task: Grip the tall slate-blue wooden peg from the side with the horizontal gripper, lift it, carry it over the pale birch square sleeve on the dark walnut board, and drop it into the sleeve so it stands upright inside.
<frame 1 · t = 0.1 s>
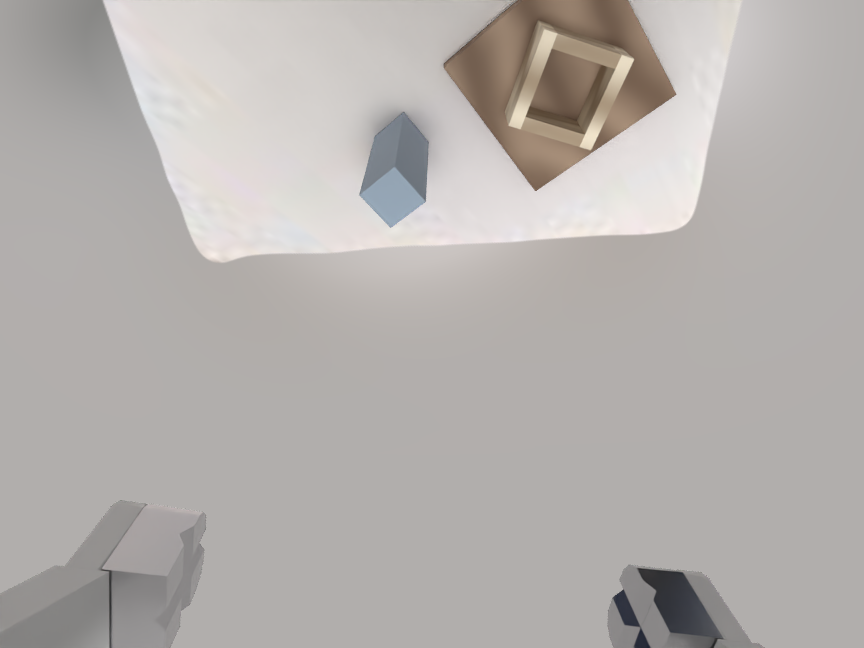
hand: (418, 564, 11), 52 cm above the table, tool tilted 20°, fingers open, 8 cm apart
socket board: (558, 77, 54), on the table
slate peg: (401, 139, 58), on the table
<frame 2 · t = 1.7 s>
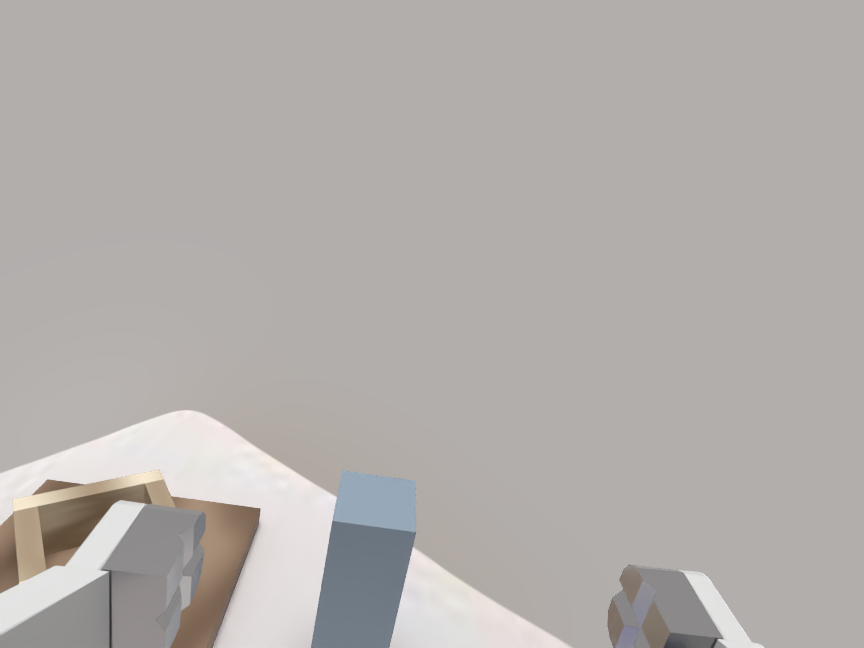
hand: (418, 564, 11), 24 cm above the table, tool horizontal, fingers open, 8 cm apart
socket board: (101, 591, 36), on the table
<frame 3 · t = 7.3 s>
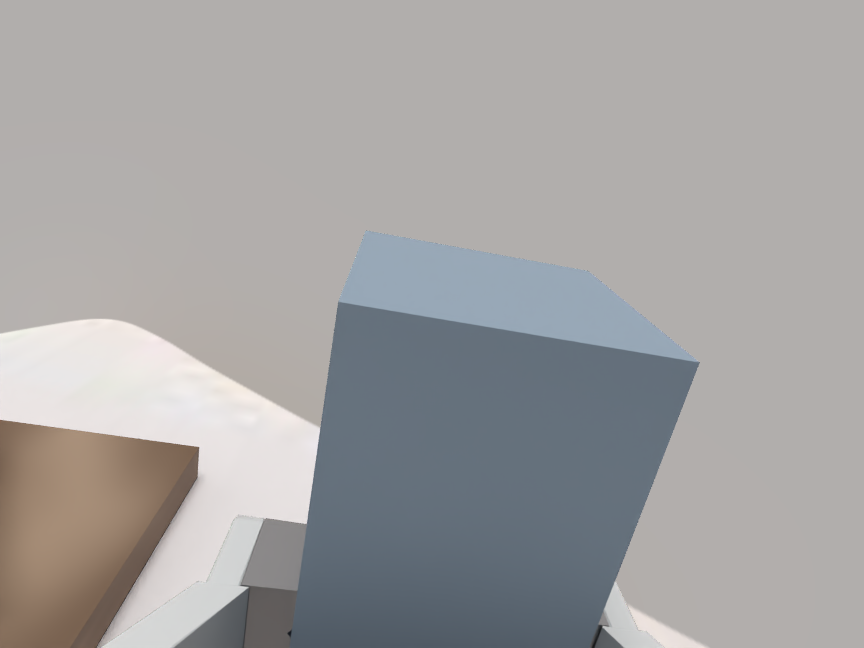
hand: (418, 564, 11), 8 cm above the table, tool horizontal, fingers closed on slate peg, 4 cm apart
when the fingers open (11 cm above the table, at t = 16.3 s): slate peg drops 1 cm, resting on socket board.
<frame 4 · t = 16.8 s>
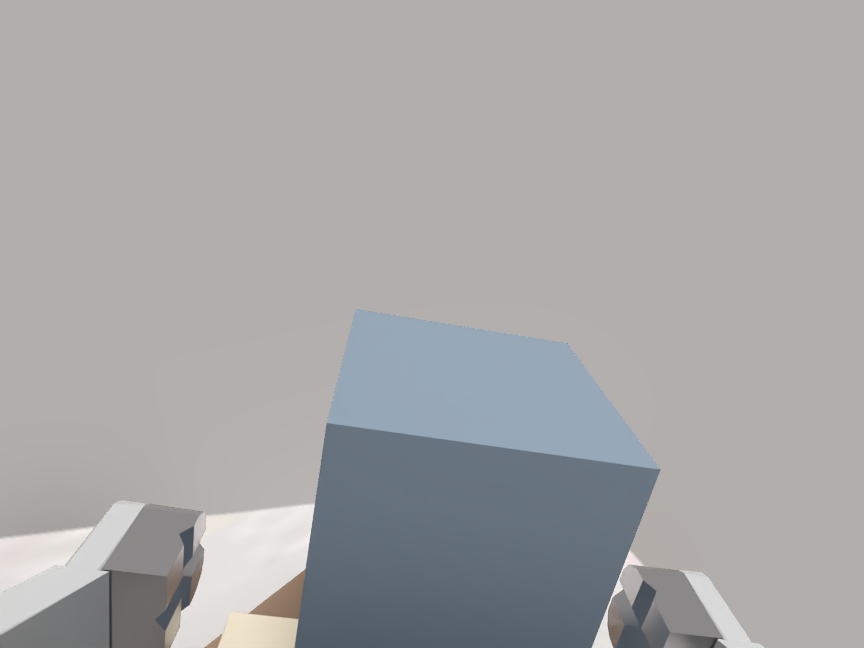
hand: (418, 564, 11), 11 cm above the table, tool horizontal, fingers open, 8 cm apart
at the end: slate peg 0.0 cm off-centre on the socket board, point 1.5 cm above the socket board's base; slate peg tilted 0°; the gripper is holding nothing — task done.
